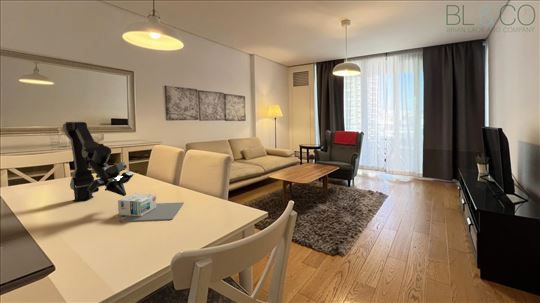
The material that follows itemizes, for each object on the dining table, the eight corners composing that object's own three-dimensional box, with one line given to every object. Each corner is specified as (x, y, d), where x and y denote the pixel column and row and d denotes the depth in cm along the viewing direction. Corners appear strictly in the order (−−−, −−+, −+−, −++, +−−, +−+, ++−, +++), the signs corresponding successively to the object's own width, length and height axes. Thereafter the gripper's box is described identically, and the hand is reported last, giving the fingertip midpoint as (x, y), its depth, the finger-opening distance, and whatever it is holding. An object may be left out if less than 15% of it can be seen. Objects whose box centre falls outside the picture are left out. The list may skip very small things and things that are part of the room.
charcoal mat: (120, 222, 98) (119, 220, 98) (140, 204, 118) (140, 203, 118) (172, 219, 101) (172, 218, 101) (183, 203, 120) (183, 202, 120)
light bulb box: (118, 215, 104) (141, 217, 102) (117, 199, 103) (140, 201, 101) (135, 206, 114) (157, 208, 113) (135, 192, 114) (156, 194, 112)
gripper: (91, 160, 98) (116, 189, 97) (128, 154, 116) (150, 178, 115) (78, 178, 101) (102, 207, 100) (116, 169, 119) (137, 193, 118)
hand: (125, 195), depth 108 cm, fingers closed
